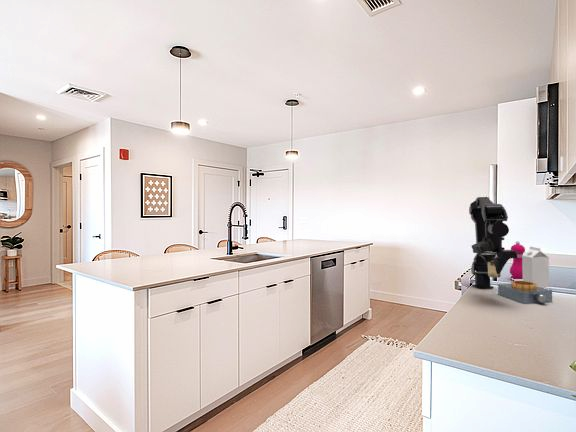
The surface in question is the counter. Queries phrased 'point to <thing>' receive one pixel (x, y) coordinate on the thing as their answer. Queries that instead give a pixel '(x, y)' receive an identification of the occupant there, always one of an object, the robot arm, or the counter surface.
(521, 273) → the pepper mill
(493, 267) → the beige cylinder
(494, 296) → the counter surface
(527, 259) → the milk carton
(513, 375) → the counter surface
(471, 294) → the counter surface
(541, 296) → the gearbox
